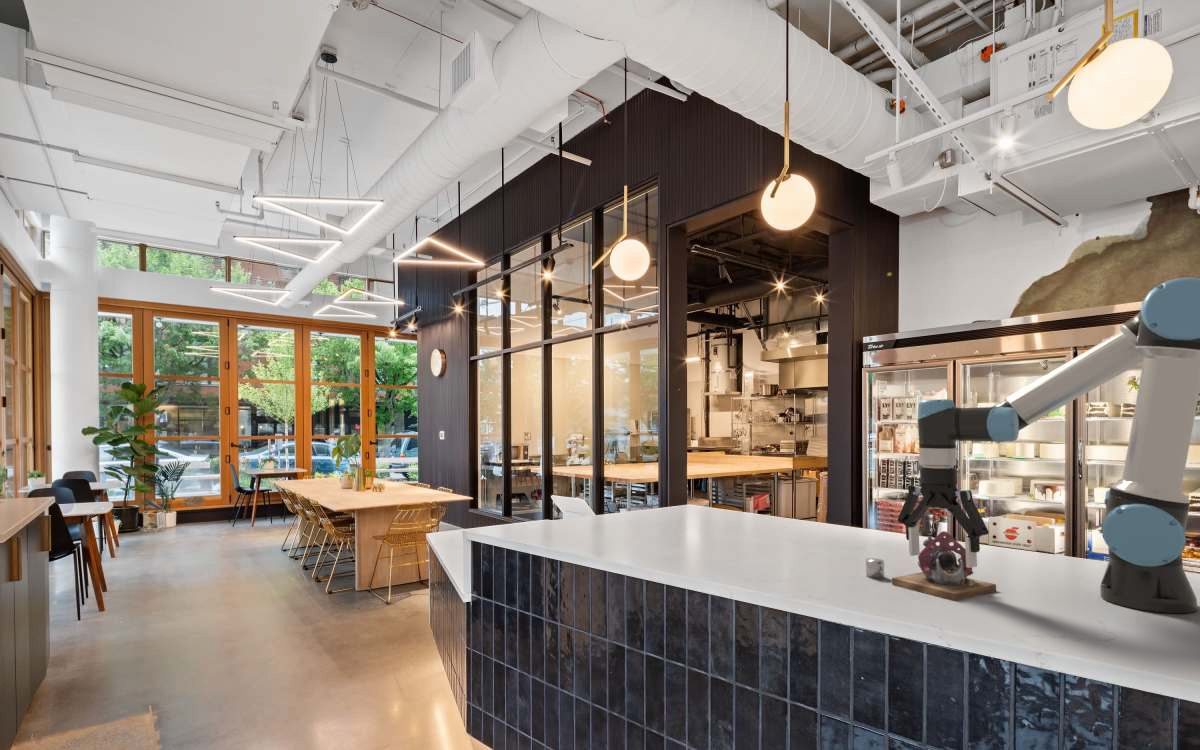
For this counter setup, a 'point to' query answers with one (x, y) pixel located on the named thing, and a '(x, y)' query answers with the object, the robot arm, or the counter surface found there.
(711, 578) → the counter surface
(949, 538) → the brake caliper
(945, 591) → the stand
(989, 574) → the counter surface
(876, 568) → the grey metallic cube
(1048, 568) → the counter surface
